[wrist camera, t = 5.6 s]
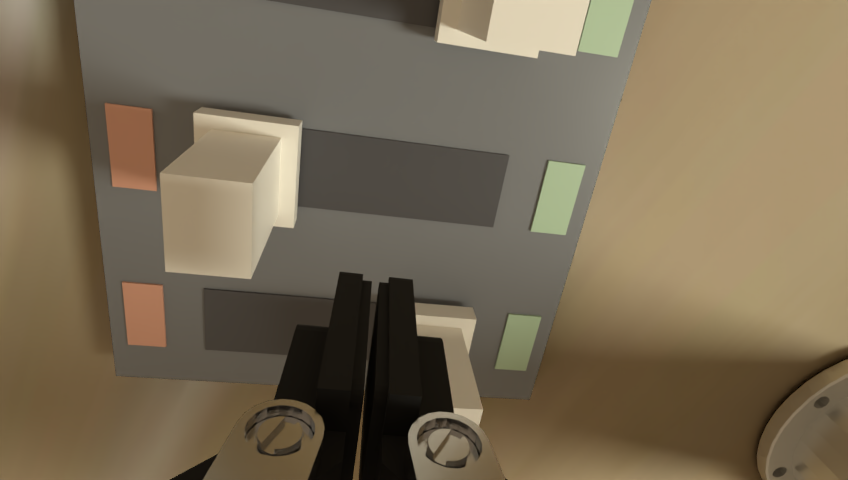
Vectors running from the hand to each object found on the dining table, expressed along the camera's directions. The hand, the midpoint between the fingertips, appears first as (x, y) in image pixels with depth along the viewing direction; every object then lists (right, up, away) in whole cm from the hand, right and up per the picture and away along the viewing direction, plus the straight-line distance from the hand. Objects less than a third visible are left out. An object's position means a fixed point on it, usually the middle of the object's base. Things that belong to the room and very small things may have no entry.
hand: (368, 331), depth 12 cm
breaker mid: (-5, +5, +8) cm, 11 cm away
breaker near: (+4, +11, +6) cm, 13 cm away
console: (-2, +5, +10) cm, 12 cm away
